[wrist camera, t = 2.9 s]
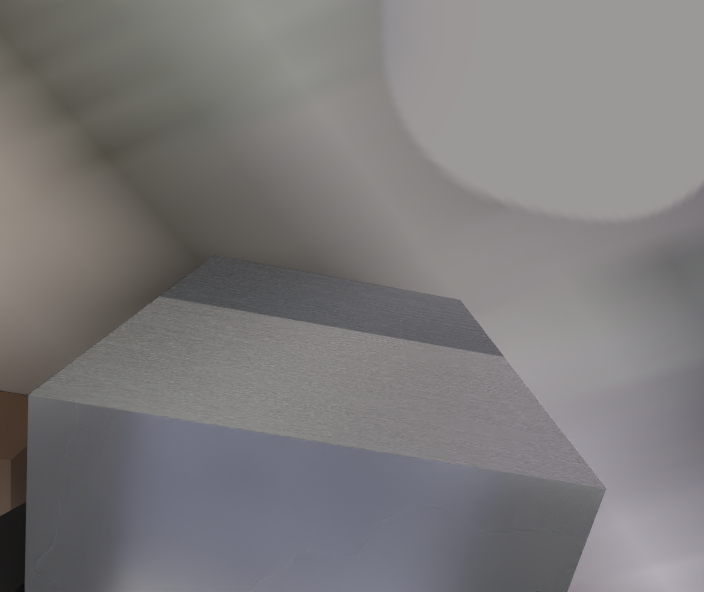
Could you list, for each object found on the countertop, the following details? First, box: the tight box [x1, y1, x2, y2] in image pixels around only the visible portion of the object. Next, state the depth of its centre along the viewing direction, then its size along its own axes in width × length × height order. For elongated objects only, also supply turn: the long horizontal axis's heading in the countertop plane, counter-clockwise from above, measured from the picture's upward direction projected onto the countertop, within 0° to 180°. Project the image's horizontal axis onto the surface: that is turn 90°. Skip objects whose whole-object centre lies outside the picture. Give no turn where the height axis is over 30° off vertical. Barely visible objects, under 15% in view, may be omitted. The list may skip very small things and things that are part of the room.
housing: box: [25, 255, 606, 592], centre depth 8 cm, size 8×5×6 cm, turn 169°
